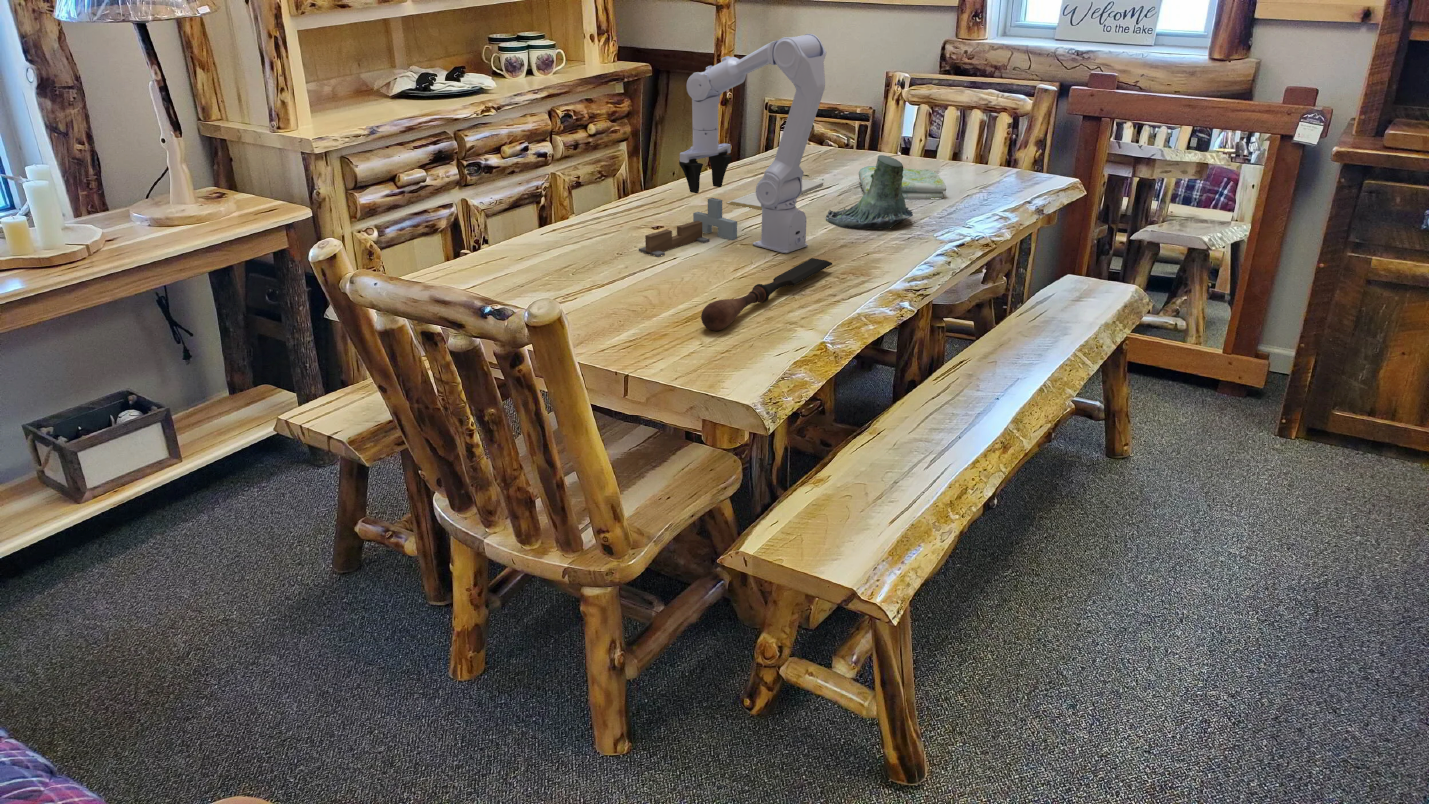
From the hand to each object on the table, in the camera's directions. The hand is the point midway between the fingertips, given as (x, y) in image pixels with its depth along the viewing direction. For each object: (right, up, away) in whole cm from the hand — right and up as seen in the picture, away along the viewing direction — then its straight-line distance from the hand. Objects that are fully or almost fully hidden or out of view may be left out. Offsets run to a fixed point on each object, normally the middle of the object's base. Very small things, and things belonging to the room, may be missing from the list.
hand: (705, 189), depth 231 cm
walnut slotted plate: (-7, -14, -8) cm, 17 cm away
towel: (+51, +7, +39) cm, 65 cm away
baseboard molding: (+17, +5, +35) cm, 40 cm away
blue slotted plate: (+2, -10, +1) cm, 10 cm away
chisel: (+12, -29, -38) cm, 50 cm away
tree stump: (+39, -5, +12) cm, 41 cm away
